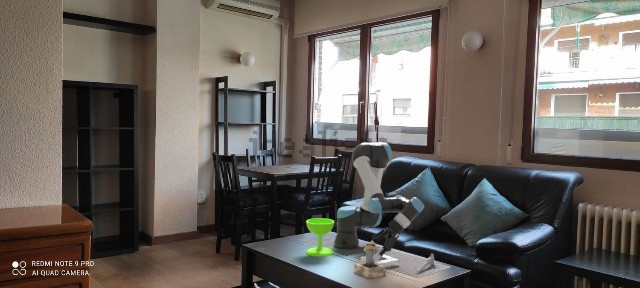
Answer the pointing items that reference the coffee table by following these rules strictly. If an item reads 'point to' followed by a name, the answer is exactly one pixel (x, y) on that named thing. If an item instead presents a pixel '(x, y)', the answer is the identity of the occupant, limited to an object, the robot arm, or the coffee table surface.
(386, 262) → the socket block
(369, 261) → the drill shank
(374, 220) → the robot arm
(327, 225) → the wineglass
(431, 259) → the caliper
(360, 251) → the coffee table surface
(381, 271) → the tan open tray
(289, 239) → the coffee table surface
